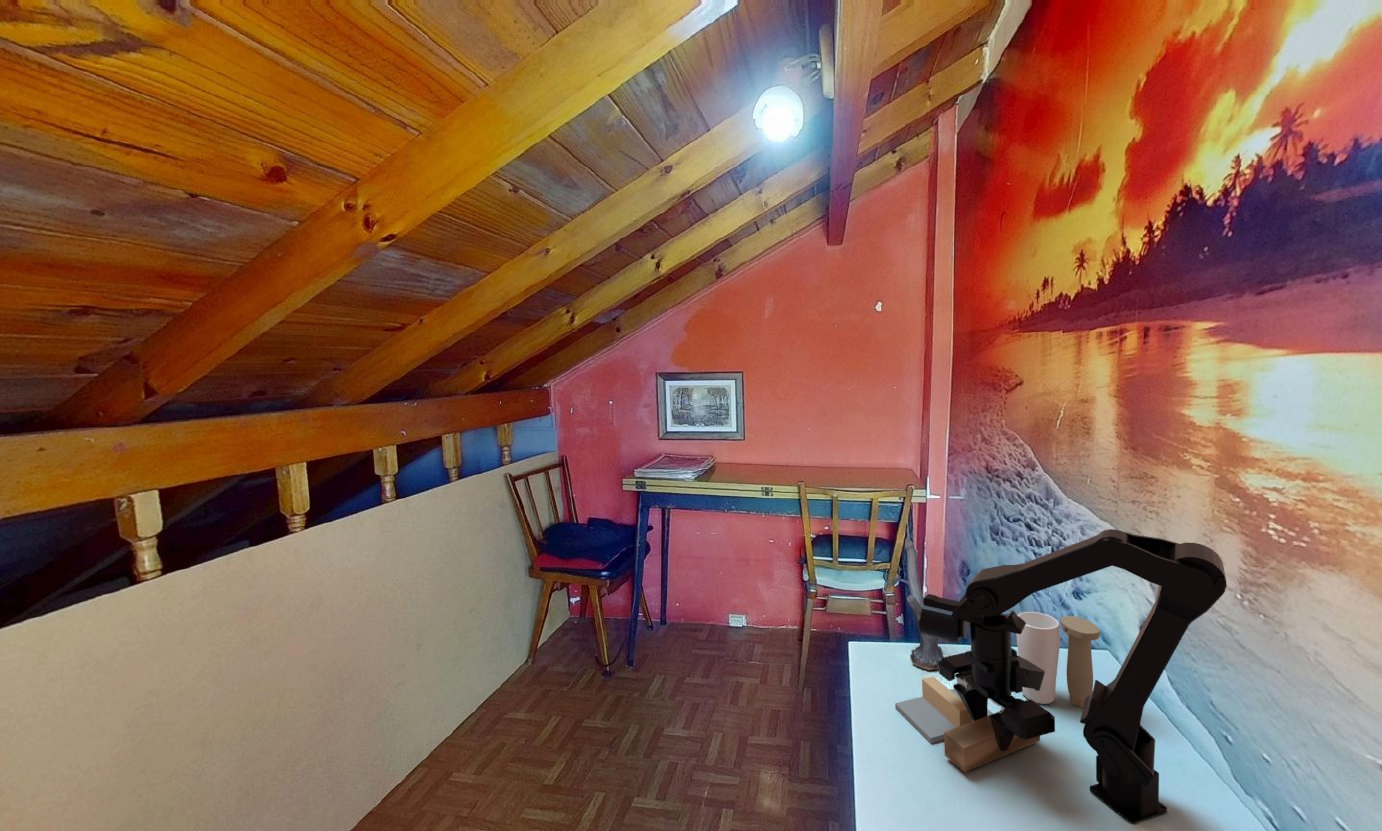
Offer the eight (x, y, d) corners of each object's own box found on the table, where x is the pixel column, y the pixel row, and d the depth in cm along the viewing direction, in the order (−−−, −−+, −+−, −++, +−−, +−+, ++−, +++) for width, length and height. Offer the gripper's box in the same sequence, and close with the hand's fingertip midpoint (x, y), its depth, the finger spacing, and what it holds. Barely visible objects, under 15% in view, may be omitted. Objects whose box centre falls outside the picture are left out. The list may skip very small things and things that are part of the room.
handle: (1079, 691, 104) (1079, 614, 103) (1106, 713, 98) (1106, 632, 96) (1054, 693, 104) (1053, 617, 102) (1079, 715, 98) (1079, 634, 96)
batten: (1040, 740, 92) (1039, 717, 91) (964, 772, 86) (963, 748, 86) (1018, 726, 95) (1018, 704, 95) (944, 755, 90) (943, 732, 90)
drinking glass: (1058, 712, 99) (1058, 632, 97) (1014, 700, 103) (1013, 623, 101) (1061, 692, 104) (1061, 616, 103) (1019, 681, 108) (1018, 608, 107)
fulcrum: (1000, 724, 97) (1000, 700, 97) (930, 743, 94) (929, 718, 93) (960, 692, 107) (959, 669, 106) (895, 708, 104) (894, 685, 103)
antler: (951, 671, 114) (948, 552, 111) (912, 673, 114) (908, 555, 111) (929, 641, 125) (925, 534, 122) (894, 643, 125) (889, 536, 123)
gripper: (1085, 670, 82) (1085, 768, 83) (989, 615, 100) (991, 697, 101) (1022, 686, 79) (1023, 787, 81) (935, 627, 97) (938, 710, 99)
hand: (992, 740), depth 91 cm, fingers closed on batten, 4 cm apart
